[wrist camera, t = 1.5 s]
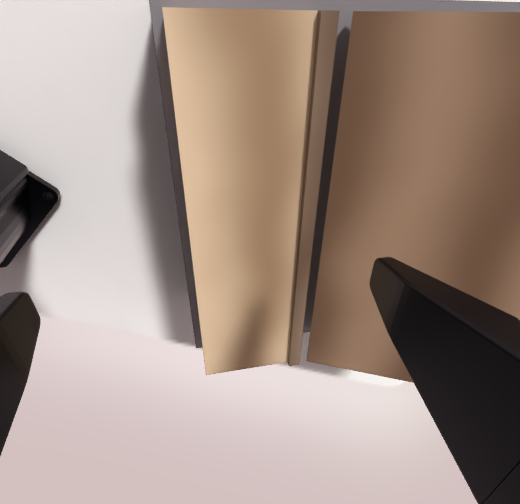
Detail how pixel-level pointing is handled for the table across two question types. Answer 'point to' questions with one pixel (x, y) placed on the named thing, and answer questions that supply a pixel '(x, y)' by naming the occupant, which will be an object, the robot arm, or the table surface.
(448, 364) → the robot arm
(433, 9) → the underlay block
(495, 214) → the walnut plank
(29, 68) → the table surface
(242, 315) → the oak panel
